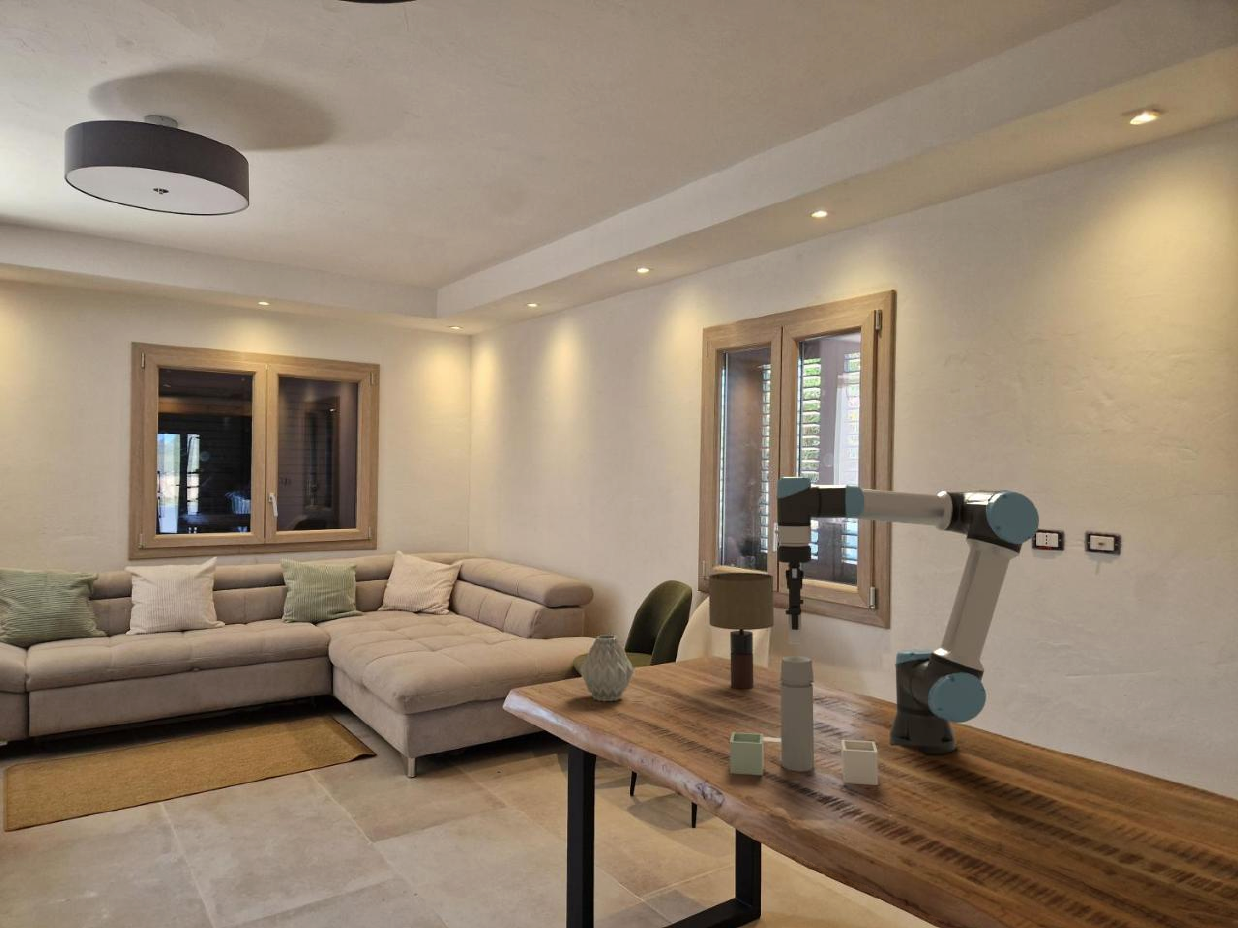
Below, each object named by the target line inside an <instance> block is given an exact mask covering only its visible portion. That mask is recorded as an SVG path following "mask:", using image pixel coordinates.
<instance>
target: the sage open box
mask: <svg viewBox="0 0 1238 928" xmlns="http://www.w3.org/2000/svg"><path fill="white" fill-rule="evenodd" d="M763 737H764V733H757V732H756V733H755V732H754V733H752V732H735V731H734V732H733V731H732V732H731V736H730V740H729V761H730V762H729V763H730V764H729V769H730V770H729V773H730V774H734V775H735V774H737V775H751V776H764V775H763V774H764V767H765V766H764V765H765V764H764V763H765V760H764V759H765V757H764V756H765V755H764V754H765V753H764V746H765V745H764V744H765V743H764V742H765V741H764V738H763Z"/></svg>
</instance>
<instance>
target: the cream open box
mask: <svg viewBox="0 0 1238 928" xmlns="http://www.w3.org/2000/svg"><path fill="white" fill-rule="evenodd" d="M840 742H841V774H842V779H843V780H842V781H843V784H856V785H857V784H858V785H869V786H871V785H872V786H879V763H878V762H879V758H878V757H879V755H878V754H879V751H878V749H877V745H876V742H875V741H869V740H868V741H867V740H853V739H852V740H851V739H841V741H840Z"/></svg>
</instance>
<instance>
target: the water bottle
mask: <svg viewBox="0 0 1238 928" xmlns="http://www.w3.org/2000/svg"><path fill="white" fill-rule="evenodd" d="M780 667H781V668H780V669H781V670H780V678H778V681H779V682H780V732H781V733H780V738H781V742H780V743H781V744H780V745H781V746H780V747H781V749H780V750H781V751H780V752H781V767H783V769H786V770H789V771H794V772H808V771H811V770H813V769H814V768H815V745H814V743H815V741H814V739H815V737H814V734H815V733H814V731H815V730H814V729H815V728H814V683H815V680H814V679H815V678H814V670H813V662H812V659H811V658H809V657H806V656H798V655H797V656H795V655H791V656H790V655H789V656H784V657H782V658H781V665H780Z"/></svg>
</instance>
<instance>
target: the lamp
mask: <svg viewBox="0 0 1238 928" xmlns="http://www.w3.org/2000/svg"><path fill="white" fill-rule="evenodd" d="M708 588H709V589H708V606H709V607H708V609H709V611H708V612H709V613H708V614H709V618H708V619H709V625H710V626H712V627H713V628H717V629H718V628H719V629H725V630H733V631H730V635H729V637H730V639H729V641H730V687H731V688H732V689H734V690H735V689H736V690H749V689H753V688H754V653H753V652H754V643H753V642H754V638H753V637H754V634H753V633H754V632H751V631H752V630H763V629H764V630H765V629H768V628H771V627H774V625H775V624H774V623H775V621H774V618H775V617H774V576H773V575H771V574H766V573H759V572H721V573H712V574H709V575H708ZM749 630H751V631H749Z"/></svg>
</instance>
